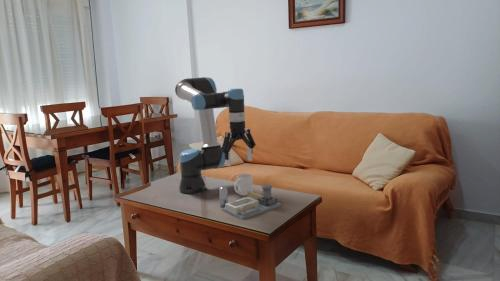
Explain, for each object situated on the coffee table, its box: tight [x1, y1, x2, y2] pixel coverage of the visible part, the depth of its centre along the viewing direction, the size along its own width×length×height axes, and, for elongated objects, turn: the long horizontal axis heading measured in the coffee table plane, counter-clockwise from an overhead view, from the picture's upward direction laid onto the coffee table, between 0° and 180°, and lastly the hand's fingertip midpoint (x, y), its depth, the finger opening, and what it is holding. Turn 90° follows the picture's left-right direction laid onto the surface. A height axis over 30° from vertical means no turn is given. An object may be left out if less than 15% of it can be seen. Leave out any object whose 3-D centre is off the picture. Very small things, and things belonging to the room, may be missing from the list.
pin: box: [218, 185, 229, 209], centre depth 191 cm, size 4×4×10 cm
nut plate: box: [221, 184, 281, 220], centre depth 187 cm, size 16×24×10 cm, turn 128°
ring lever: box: [246, 191, 278, 206], centre depth 194 cm, size 18×7×2 cm, turn 38°
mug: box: [233, 173, 254, 197], centre depth 209 cm, size 12×8×10 cm
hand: (239, 163), depth 189 cm, fingers open, 13 cm apart
